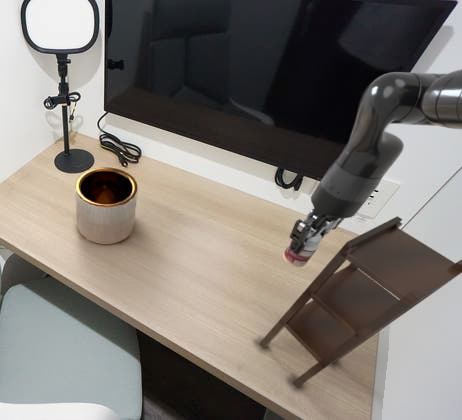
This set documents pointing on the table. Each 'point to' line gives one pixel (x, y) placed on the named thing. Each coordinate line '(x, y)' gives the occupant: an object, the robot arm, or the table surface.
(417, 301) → the rack
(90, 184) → the planter
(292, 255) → the pill bottle
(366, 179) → the robot arm
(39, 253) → the table surface
